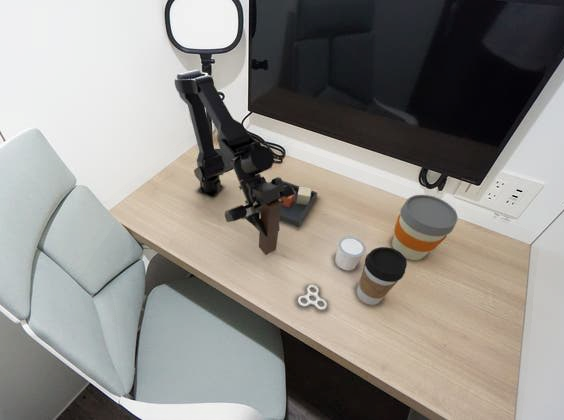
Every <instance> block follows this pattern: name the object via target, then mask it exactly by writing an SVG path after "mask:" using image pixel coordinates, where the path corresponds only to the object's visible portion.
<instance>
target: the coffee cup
mask: <svg viewBox="0 0 564 420" xmlns="http://www.w3.org/2000/svg"><path fill="white" fill-rule="evenodd" d="M407 260H408V259H406V258H405V257H404V256H403V254H401V253H400V252H399V251H397V250H395V249H394V248H393V247H388V246H379V247H376V248H373V249H371V250H370V252H369V253H367V255H366V256H365V259H364V264H363V268H362V271H361V275H360V278H359V282H358V285H357V288H356V295H357V297H358V299H359V300H360V301H361V302H362V303H364V304H366V305H370V306H374V305H378V304H379V303H380V302H381V301H382V300H383V299H384V297H386V295H387V294H389V293H390V291H391V290H392V289H393V288H394V287H395V285H396V284H397V283H398V282H399V281H400V280H401V279H403V278H404V275H405V274H406V269H407V265H408V261H407Z"/></svg>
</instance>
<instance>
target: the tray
mask: <svg viewBox="0 0 564 420" xmlns="http://www.w3.org/2000/svg"><path fill="white" fill-rule="evenodd" d="M282 182H283V184H284V186H286V185H290V186H292V187H293V189H294V191H295V192H296V193H295V199H294V202H293V203H292V205H291V206H290V208H289V207H286V206H283V205H282V206H281V214H280V221H282V222H285V223H288V224H290V225H292V226H296V227H297V228H299V227H300V225H301V224H302V222H303V221H304V219H305V217H306V216H307V214H308V212H309V210H310V209H311V207H312V206H313V204H314V202H315V201H316V199H317V197H318V192H317V191H314V190H311V196H310V201H309V203H308V205H303V204H297V203H296V202H297V196H298V191H299V187H301V186H300V185H297V184H293V183H290V182H288V181H284V180H282ZM256 203H257V202H255V203H254V204H256ZM255 211H256V212H259V213H261V206H260V207H258V208H256V209H255Z"/></svg>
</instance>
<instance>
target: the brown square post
mask: <svg viewBox="0 0 564 420" xmlns="http://www.w3.org/2000/svg"><path fill="white" fill-rule="evenodd" d="M281 206H282V203H281V202H280V201H279V200H277V199H276V200H274V201H271V202H270V203H269V204H262V203H261V212H260V220H261V222H262V224H263V226H264V228H265V230H266V234H267V237H264V236H263V235H262V234H261V233H260V232H259V231H258V233H259V235H258V248H259V249H260V250H261V252H262V253H263V254H264V255H265V256H268V255H269V254H271V253H273V252H275V251H277V246H278V237H279V231H280V223H281V222H280V221H281V220H280V214H281ZM278 230H279V231H278Z"/></svg>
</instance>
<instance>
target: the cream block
mask: <svg viewBox="0 0 564 420" xmlns="http://www.w3.org/2000/svg"><path fill="white" fill-rule="evenodd" d="M311 191H313V190H312V188H310V187H305V186H300V187H299V191H298V196H297V202H296V203H297V204H303V205H308V203H309V201H310V196H311Z"/></svg>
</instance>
